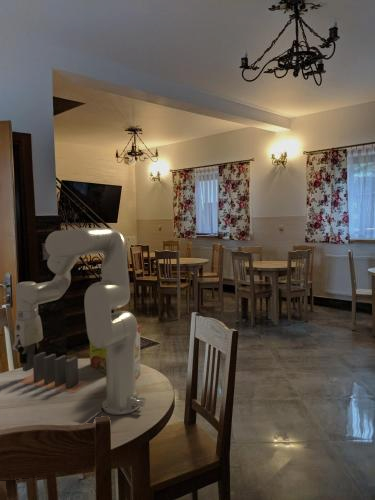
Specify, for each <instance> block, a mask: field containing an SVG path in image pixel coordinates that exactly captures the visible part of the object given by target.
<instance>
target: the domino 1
mask: <svg viewBox="0 0 375 500" xmlns="http://www.w3.org/2000/svg"><path fill="white" fill-rule="evenodd" d="M22 349H23V347H22ZM26 353H27V364H23V363H21V364H22V372H28V371H30V370H31V369H33V356H34V355H35V343H34V344H32V345H29V346H27V348H26Z"/></svg>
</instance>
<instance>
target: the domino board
mask: <svg viewBox="0 0 375 500" xmlns="http://www.w3.org/2000/svg"><path fill="white" fill-rule="evenodd" d="M17 383H19V384H20V383H21V384H26V385H31V386H37V387H42V388H45V389H51V390H52V389H53V390H57V391H62V392H68V393H73V394H74V393H76V392H78V391H79V390H80V389H81V388H83V387H85V386H87V385H88V384H89V382H87V381H80V380H78V384H77V385H75V386H74V387H72V388H70V389H67V388H66V383H64V384H63V385H61V386H59V387H56V386H55V381H54V382H52V383H50V384H48V385H46V384H44V379H43V380H41V381H40V382H38V383H36V382H34V374H33V373H32V374H30V375H28V376H26V377H24V378H22V379H20V380H18V381H17Z"/></svg>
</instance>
